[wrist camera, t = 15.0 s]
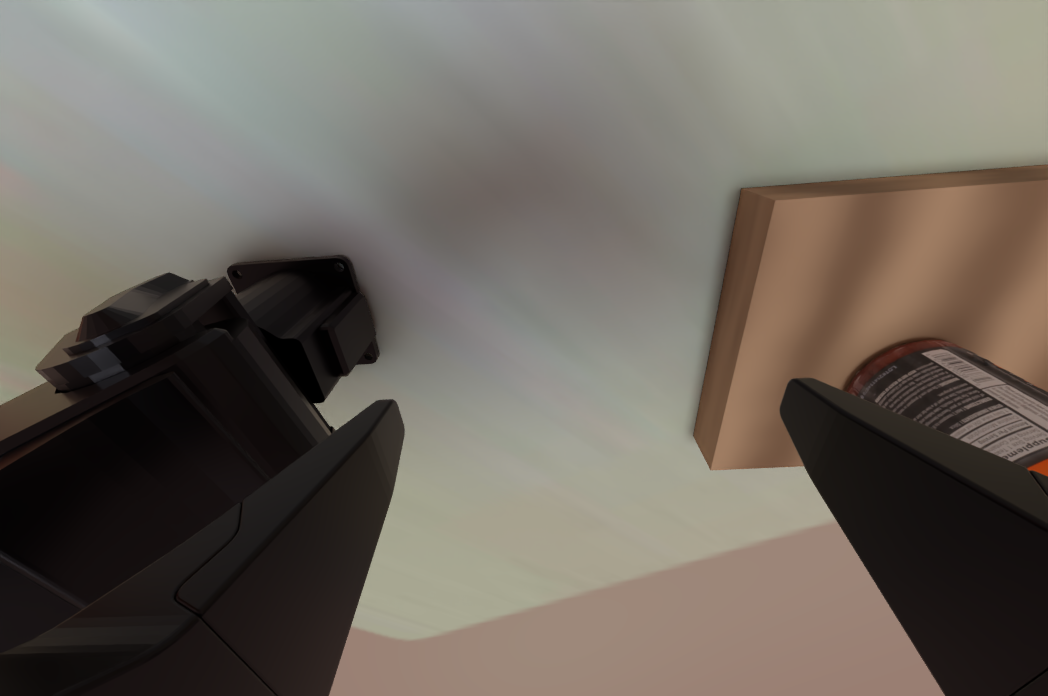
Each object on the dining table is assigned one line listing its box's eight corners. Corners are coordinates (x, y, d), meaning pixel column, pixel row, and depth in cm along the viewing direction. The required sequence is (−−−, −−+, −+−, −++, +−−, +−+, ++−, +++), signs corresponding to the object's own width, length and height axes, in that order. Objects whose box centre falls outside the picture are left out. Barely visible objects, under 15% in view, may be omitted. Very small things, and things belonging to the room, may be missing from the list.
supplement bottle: (976, 386, 21) (1362, 622, 11) (860, 441, 23) (1100, 680, 13) (945, 311, 19) (1393, 525, 9) (819, 379, 21) (1073, 612, 11)
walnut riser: (693, 436, 27) (710, 470, 24) (741, 188, 19) (775, 200, 16) (1000, 421, 26) (1052, 455, 23) (1192, 153, 18) (1304, 160, 15)
